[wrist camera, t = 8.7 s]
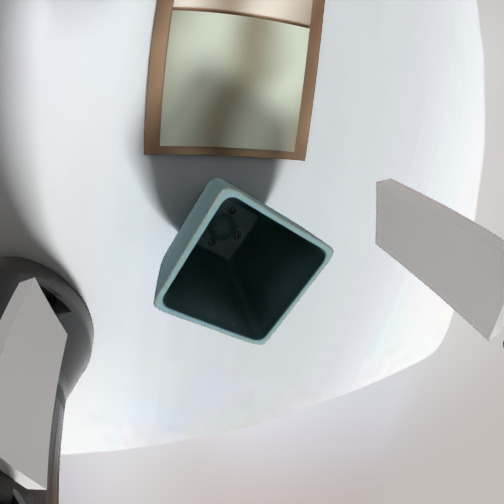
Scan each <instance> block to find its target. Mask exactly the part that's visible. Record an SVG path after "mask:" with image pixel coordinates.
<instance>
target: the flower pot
mask: <svg viewBox="0 0 504 504" xmlns="http://www.w3.org/2000/svg"><path fill="white" fill-rule="evenodd" d="M230 208H234V209H235V212H234V213H230V212H229V209H230ZM235 232H239V233H240V235H239V236H238V237H235V236H234V233H235ZM210 239H214V240H215V242H214V244H209V240H210ZM333 252H334V251H333V249H332V248H331V247H330V246H329V245H327V244H326V243H325V242H323V241H322V240H320V239H319V238H317V237H316V236H314V235H313V234H311V233H310V232H308V231H307V230H305V229H304V228H303V227H301V226H300V225H298V224H296V223H295V222H293V221H291V220H290V219H288V218H287V217H285V216H283V215H282V214H280V213H278V212H277V211H275V210H273V209H272V208H270V207H268V206H267V205H265V204H263V203H262V202H260V201H258V200H257V199H255V198H253V197H252V196H250V195H248V194H247V193H245V192H243V191H242V190H240V189H238V188H237V187H235V186H233V185H232V184H230V183H228V182H227V181H225V180H223V179H221V178H213V179H212V180H210V182H209V183H208V184H207V186H206V187H205V189H204V191H203V192H202V194H201V196H200V197H199V199H198V201H197V202H196V204H195V205H194V207H193V209H192V210H191V212H190V214H189V215H188V217H187V219H186V220H185V222H184V224H183V225H182V227H181V229H180V230H179V232H178V234H177V235H176V237H175V239H174V240H173V242H172V244H171V245H170V247H169V249H168V250H167V252H166V254H165V256H164V258H163V260H162V263H161V266H160V271H159V276H158V281H157V286H156V292H155V298H154V306H155V307H156V308H158V309H159V310H161V311H163V312H165V313H168V314H171V315H173V316H176V317H179V318H181V319H184V320H187V321H190V322H193V323H196V324H199V325H201V326H204V327H207V328H210V329H213V330H216V331H218V332H221V333H224V334H227V335H229V336H231V337H235V338H238V339H241V340H243V341H246V342H249V343H252V344H258V345H263V344H264V343H265V342H266V341H267V340H268V339H269V338H270V337H271V336H272V334H273V333H274V332H275V331H276V329H277V328H278V327H279V326H280V324H281V323H282V321H283V320H284V319H285V318H286V316H287V315H288V314H289V313H290V311H291V310H292V309H293V307H294V306H295V305H296V304H297V302H298V301H299V300H300V298H301V297H302V296H303V294H304V293H305V292H306V291H307V289H308V288H309V287H310V285H311V284H312V283H313V281H314V280H315V279H316V277H317V276H318V275H319V274H320V272H321V271H322V270H323V269H324V267H325V266H326V265H327V264H328V262H329V261H330V259H331V257H332V255H333Z"/></svg>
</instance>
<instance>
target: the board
mask: <svg viewBox="0 0 504 504" xmlns="http://www.w3.org/2000/svg"><path fill="white" fill-rule="evenodd" d="M324 3H325V0H158V2H157V8H156V15H155V21H154V29H153V36H152V45H151V53H150V63H149V73H148V84H147V97H146V113H145V133H144V155H222V156H245V157H262V158H277V159H290V160H302V161H305V157H306V150H307V143H308V136H309V129H310V122H311V115H312V107H313V99H314V92H315V84H316V76H317V68H318V59H319V51H320V42H321V33H322V23H323V13H324Z"/></svg>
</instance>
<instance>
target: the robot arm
mask: <svg viewBox="0 0 504 504" xmlns="http://www.w3.org/2000/svg"><path fill="white" fill-rule="evenodd" d="M375 244H376V245H378V246H379V247H380V248H382V249H383V250H384V251H385V252H387V253H388V254H389V255H390V256H392V257H393V258H394V259H395V260H397V261H398V262H399V263H400V264H401V265H403V266H404V267H405V268H406V269H408V270H409V271H410V272H411V273H412V274H414V275H415V276H416V277H417V278H418V279H420V280H421V281H422V282H423V283H424V284H425V285H427V286H428V287H429V288H430V289H431V290H432V291H434V292H435V293H436V294H437V295H438V296H439V297H441V298H442V299H443V300H444V301H445V302H446V303H447V304H449V305H450V306H451V307H452V308H453V309H454V310H455V311H456V312H457V313H459V314H460V315H461V316H462V317H463V318H464V319H465V320H466V321H468V323H470V324H471V325H472V326H473V327H474V328H475V329H476V330H477V331H478V332H479V333H480V334H481V335H482V336H483V337H484V338H486V339H487V340H488V341H489V340H490V339H492V338H493V337H494V336H495V335H497V334H498V333H499V332H501V331H502V329H503V326H504V240H502V239H501V238H500V237H498V236H497V235H495V234H493V233H492V232H490V231H489V230H487V229H485V228H483V227H482V226H480V225H478V224H477V223H475V222H473V221H471V220H470V219H468V218H466V217H464V216H463V215H461V214H459V213H457V212H456V211H454V210H452V209H450V208H448V207H446V206H444V205H443V204H441V203H439V202H437V201H435V200H433V199H431V198H429V197H427V196H425V195H423V194H422V193H420V192H418V191H416V190H414V189H412V188H409V187H407V186H405V185H403V184H401V183H399V182H397V181H395V180H393V179H388V180H383V181H379V182H376V243H375ZM93 338H94V331H93V324H92V320H91V317H90V314H89V312H88V310H87V308H86V306H85V304H84V302H83V301H82V299H81V298H80V296H79V295H78V294H77V293H76V291H75V290H74V289H73V288H72V287H71V286H70V285H69V284H68V283H67V282H66V281H65V280H64V279H62V278H61V277H60V276H59V275H57V274H56V273H55V272H53V271H51V270H50V269H48V268H46V267H45V266H43V265H41V264H38V263H36V262H33V261H30V260H27V259H23V258H18V257H1V258H0V504H58V503H59V502H58V498H59V496H58V495H59V465H60V450H61V438H62V428H63V419H64V410H65V403H66V399H67V398H68V396H69V394H70V393H71V391H72V390H73V388H74V386H75V385H76V383H77V382H78V380H79V378H80V377H81V375H82V373H83V372H84V371H85V369H86V367H87V365H88V363H89V360H90V357H91V352H92V345H93ZM503 348H504V342H503Z"/></svg>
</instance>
